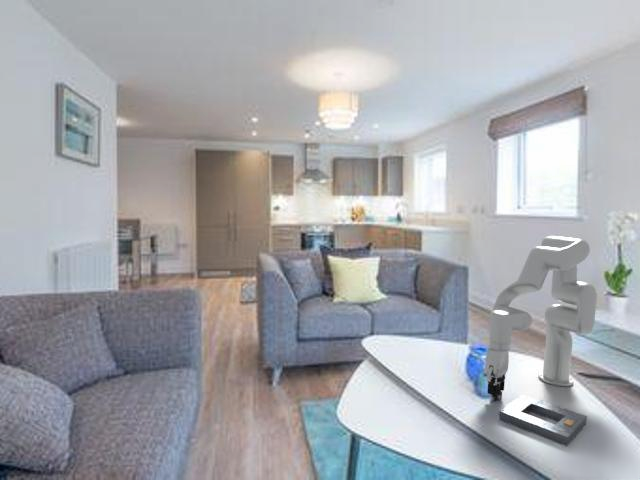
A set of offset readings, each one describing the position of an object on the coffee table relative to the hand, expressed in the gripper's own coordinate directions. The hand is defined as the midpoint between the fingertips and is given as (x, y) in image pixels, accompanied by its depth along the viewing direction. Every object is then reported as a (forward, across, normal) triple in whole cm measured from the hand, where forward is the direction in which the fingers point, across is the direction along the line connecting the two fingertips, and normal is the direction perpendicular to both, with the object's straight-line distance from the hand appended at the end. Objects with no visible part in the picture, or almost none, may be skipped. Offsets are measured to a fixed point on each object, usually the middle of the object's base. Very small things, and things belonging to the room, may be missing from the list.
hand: (495, 391), depth 162 cm
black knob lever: (+3, 0, 0) cm, 3 cm away
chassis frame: (+3, +4, +18) cm, 19 cm away
